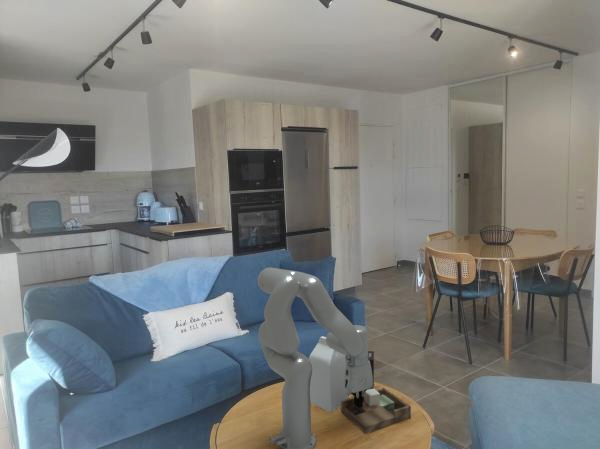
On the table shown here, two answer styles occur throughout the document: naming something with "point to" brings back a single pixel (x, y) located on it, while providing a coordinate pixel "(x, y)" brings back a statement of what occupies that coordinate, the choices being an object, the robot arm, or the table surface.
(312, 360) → the milk
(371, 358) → the coffee box
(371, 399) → the block
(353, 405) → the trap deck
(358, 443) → the table surface
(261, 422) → the table surface
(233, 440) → the table surface
